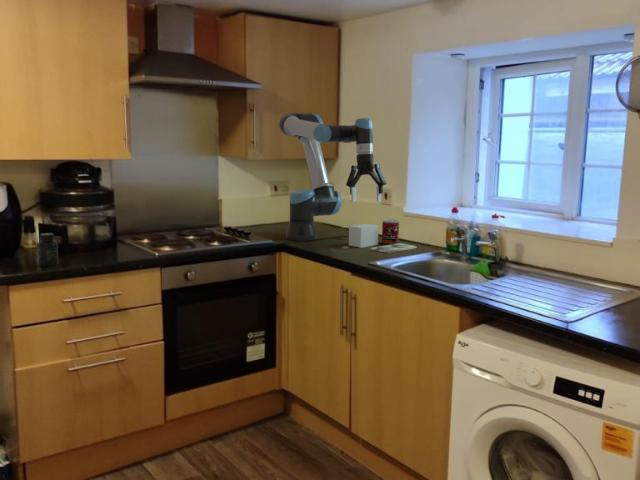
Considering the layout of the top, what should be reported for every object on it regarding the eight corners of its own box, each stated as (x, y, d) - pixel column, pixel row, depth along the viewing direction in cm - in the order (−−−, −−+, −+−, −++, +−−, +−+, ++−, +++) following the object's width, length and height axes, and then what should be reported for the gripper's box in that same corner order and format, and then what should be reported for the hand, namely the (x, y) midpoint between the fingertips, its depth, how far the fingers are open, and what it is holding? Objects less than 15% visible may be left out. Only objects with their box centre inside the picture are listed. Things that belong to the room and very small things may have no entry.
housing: (348, 245, 282) (349, 226, 280) (365, 242, 290) (366, 223, 288) (360, 247, 276) (361, 228, 275) (377, 244, 284) (378, 225, 282)
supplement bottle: (36, 264, 231) (34, 233, 229) (55, 262, 235) (54, 232, 233) (41, 268, 225) (39, 236, 223) (60, 266, 229) (59, 234, 227)
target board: (370, 249, 272) (370, 247, 271) (399, 244, 285) (399, 242, 285) (387, 253, 264) (387, 250, 264) (416, 248, 278) (416, 245, 278)
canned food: (380, 244, 285) (381, 221, 283) (383, 241, 293) (383, 219, 291) (397, 245, 283) (398, 222, 281) (399, 242, 291) (399, 219, 289)
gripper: (337, 155, 277) (339, 202, 279) (383, 151, 261) (385, 201, 263) (347, 155, 283) (348, 201, 284) (393, 152, 267) (394, 200, 269)
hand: (366, 201), depth 274 cm, fingers open, 13 cm apart
